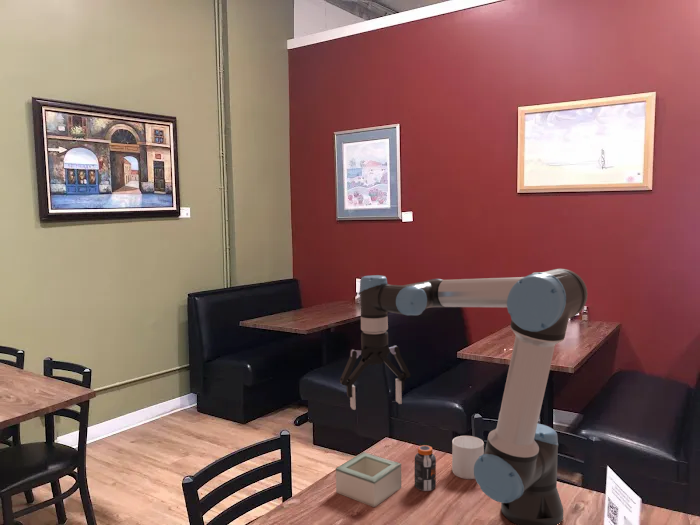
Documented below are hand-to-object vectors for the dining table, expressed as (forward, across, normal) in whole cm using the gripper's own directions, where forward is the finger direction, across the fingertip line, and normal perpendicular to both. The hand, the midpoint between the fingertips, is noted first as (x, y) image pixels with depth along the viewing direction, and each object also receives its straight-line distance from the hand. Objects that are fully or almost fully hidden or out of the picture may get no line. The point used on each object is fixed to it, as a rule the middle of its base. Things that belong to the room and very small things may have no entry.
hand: (376, 405), depth 162 cm
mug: (+23, -28, +1) cm, 36 cm away
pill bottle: (+23, -12, +6) cm, 27 cm away
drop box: (+23, +4, +3) cm, 23 cm away
